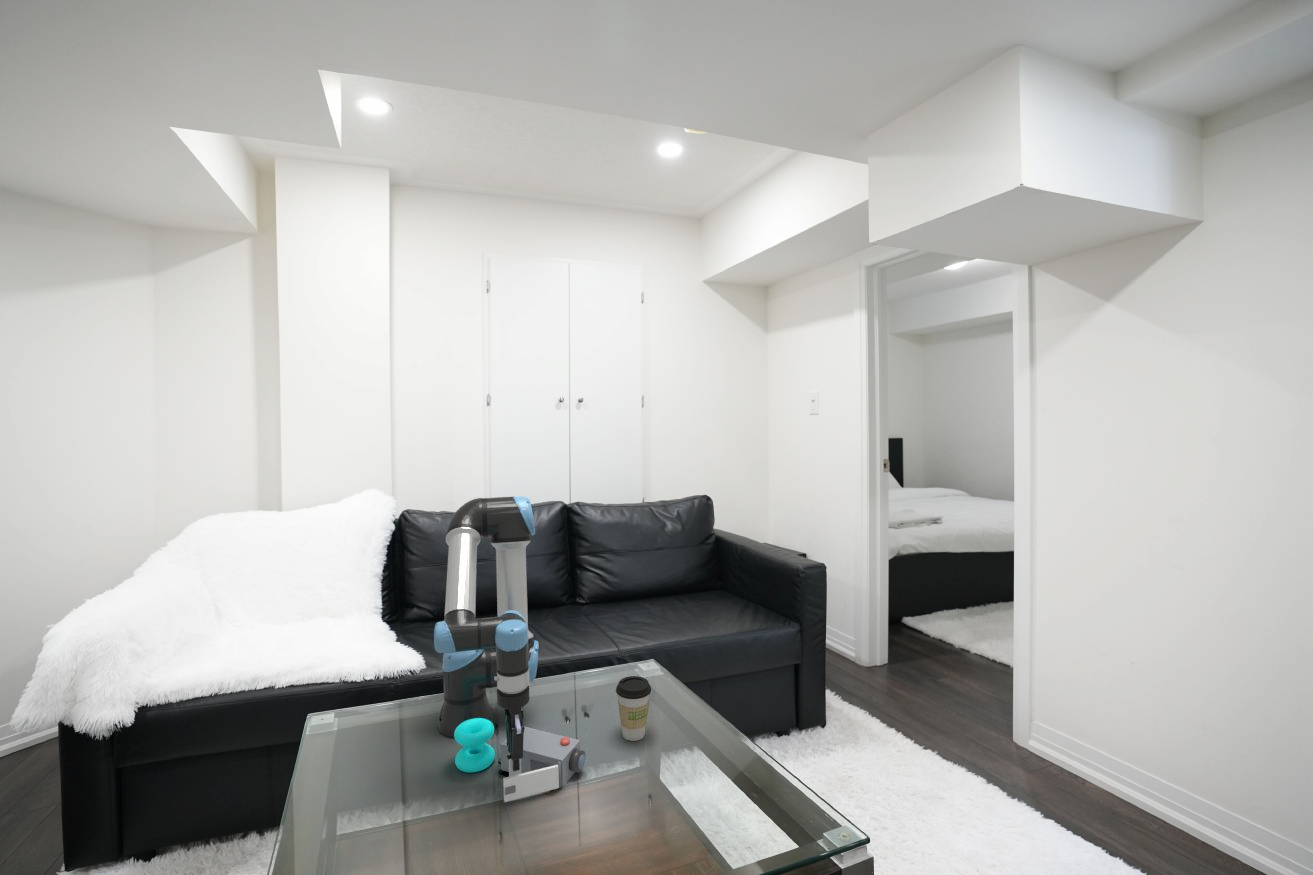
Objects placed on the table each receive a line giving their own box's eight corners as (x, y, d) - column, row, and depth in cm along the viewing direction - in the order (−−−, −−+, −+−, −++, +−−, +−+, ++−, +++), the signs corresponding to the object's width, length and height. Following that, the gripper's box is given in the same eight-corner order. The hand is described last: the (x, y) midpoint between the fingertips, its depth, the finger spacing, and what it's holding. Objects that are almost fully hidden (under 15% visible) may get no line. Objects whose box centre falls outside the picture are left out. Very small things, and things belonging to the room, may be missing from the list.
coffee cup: (647, 746, 172) (647, 694, 170) (612, 742, 174) (611, 690, 172) (654, 726, 181) (654, 676, 180) (621, 722, 183) (620, 673, 182)
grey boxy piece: (500, 770, 162) (499, 741, 161) (521, 749, 170) (520, 722, 169) (571, 789, 154) (570, 759, 153) (588, 767, 163) (588, 739, 162)
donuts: (451, 739, 158) (456, 717, 168) (452, 776, 159) (457, 753, 169) (492, 735, 160) (495, 714, 169) (493, 772, 161) (496, 749, 170)
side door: (504, 804, 148) (504, 779, 148) (503, 800, 150) (502, 774, 149) (562, 789, 154) (562, 764, 153) (560, 785, 155) (560, 760, 154)
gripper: (492, 677, 155) (495, 768, 158) (501, 702, 144) (504, 800, 146) (523, 671, 158) (525, 760, 161) (534, 696, 146) (536, 791, 149)
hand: (515, 779), depth 153 cm, fingers closed
